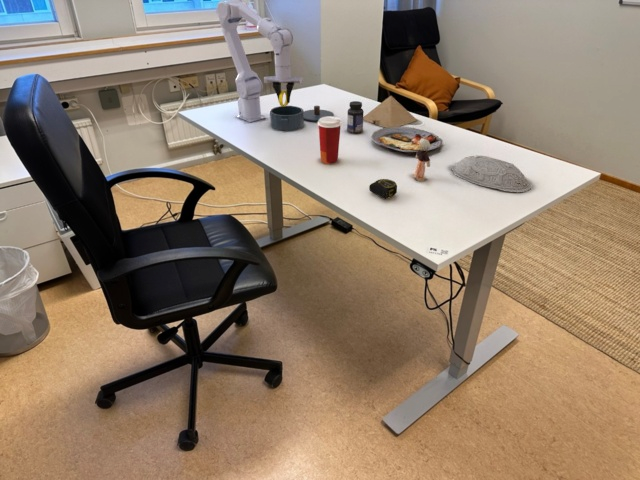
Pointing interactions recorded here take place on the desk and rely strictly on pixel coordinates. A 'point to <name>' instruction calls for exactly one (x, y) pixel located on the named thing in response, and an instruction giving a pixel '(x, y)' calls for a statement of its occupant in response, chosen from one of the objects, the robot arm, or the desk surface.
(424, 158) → the grandmother figurine
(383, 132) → the food plate
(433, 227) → the desk surface
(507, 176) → the grey oval dome
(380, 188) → the tape measure
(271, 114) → the pot
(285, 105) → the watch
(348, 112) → the pill bottle
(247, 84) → the robot arm
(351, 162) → the desk surface
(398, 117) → the model pyramid
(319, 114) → the lid
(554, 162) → the desk surface
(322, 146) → the paper cup
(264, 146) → the desk surface
